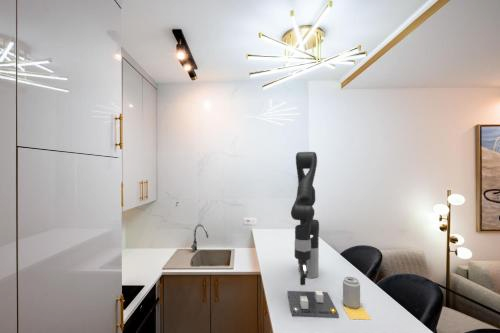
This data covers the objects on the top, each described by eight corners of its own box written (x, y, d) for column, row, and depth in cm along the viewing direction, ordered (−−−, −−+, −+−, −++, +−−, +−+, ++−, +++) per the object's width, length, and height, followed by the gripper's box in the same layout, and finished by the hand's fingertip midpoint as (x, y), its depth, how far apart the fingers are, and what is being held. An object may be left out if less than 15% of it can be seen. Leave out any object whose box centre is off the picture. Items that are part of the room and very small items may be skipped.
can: (355, 300, 115) (355, 275, 115) (363, 309, 108) (363, 282, 108) (340, 300, 115) (340, 275, 115) (347, 309, 107) (347, 282, 107)
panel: (287, 293, 121) (287, 288, 121) (327, 295, 120) (327, 289, 120) (291, 316, 103) (291, 309, 103) (338, 317, 102) (338, 311, 102)
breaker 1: (299, 303, 109) (299, 295, 109) (306, 303, 109) (306, 296, 109) (301, 308, 105) (301, 300, 105) (308, 309, 105) (308, 301, 105)
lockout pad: (342, 306, 110) (342, 306, 110) (362, 307, 109) (362, 306, 109) (349, 319, 101) (349, 318, 101) (371, 319, 100) (371, 319, 100)
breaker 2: (314, 297, 114) (314, 290, 114) (321, 297, 114) (321, 290, 114) (316, 302, 110) (316, 294, 110) (323, 302, 110) (323, 295, 110)
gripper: (292, 242, 118) (292, 277, 118) (296, 253, 104) (296, 291, 105) (308, 242, 117) (308, 277, 118) (313, 253, 104) (313, 292, 104)
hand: (302, 284), depth 111 cm, fingers closed
